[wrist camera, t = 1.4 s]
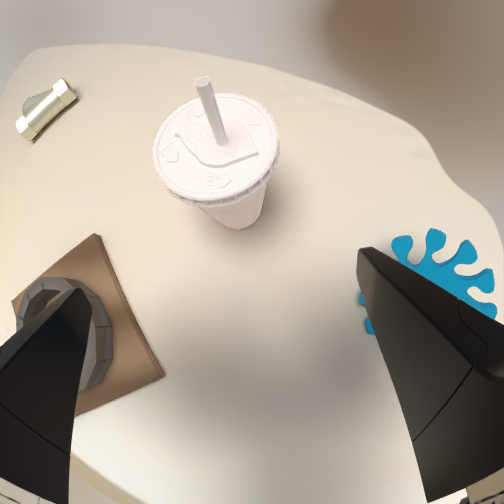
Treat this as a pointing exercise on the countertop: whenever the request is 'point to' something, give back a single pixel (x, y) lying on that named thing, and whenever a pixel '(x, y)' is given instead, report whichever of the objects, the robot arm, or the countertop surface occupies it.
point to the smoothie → (218, 154)
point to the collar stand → (96, 324)
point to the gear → (446, 270)
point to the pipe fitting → (44, 108)
